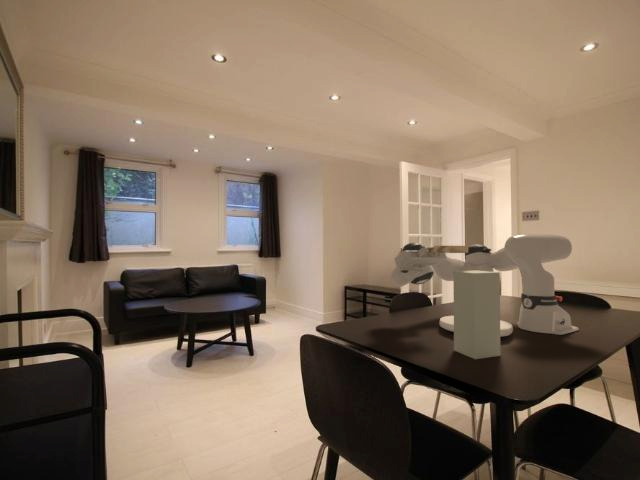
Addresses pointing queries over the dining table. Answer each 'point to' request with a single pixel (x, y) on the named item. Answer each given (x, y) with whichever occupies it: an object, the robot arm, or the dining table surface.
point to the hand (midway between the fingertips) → (432, 248)
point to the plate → (448, 324)
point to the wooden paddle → (449, 249)
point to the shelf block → (477, 313)
